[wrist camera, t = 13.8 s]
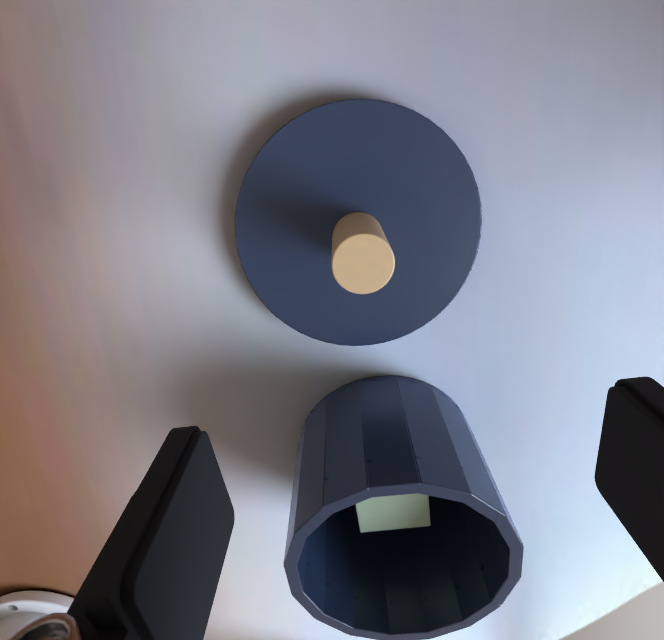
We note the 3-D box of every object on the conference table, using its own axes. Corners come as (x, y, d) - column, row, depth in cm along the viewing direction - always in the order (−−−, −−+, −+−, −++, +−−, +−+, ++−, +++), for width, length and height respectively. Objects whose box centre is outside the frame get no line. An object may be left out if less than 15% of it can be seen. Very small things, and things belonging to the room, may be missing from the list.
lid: (222, 309, 26) (189, 359, 20) (263, 65, 21) (235, 39, 15) (426, 358, 27) (451, 419, 22) (515, 142, 22) (581, 145, 16)
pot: (284, 490, 32) (265, 621, 24) (323, 357, 27) (317, 460, 19) (433, 520, 34) (467, 655, 25) (497, 398, 29) (566, 513, 20)
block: (356, 479, 31) (360, 533, 27) (348, 431, 29) (350, 480, 25) (418, 472, 31) (431, 526, 27) (413, 423, 29) (426, 472, 25)
